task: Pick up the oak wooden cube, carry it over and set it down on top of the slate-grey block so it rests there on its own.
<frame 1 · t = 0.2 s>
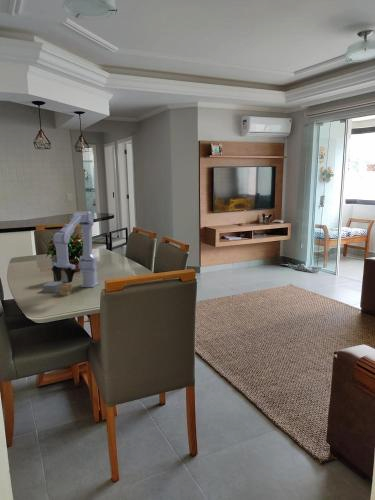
hand: (64, 281, 187), 10 cm above the table, tool pointing down, fingers open, 7 cm apart
slate block: (53, 290, 205), on the table
oak cube: (65, 294, 198), on the table
coffee box: (61, 281, 222), on the table
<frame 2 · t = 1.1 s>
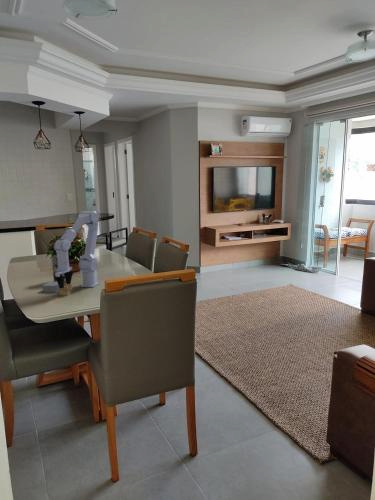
hand: (65, 286, 197), 4 cm above the table, tool pointing down, fingers open, 7 cm apart
nothing on the table moved.
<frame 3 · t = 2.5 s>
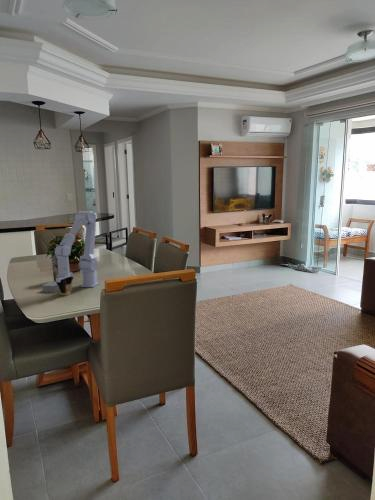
hand: (65, 291, 197), 1 cm above the table, tool pointing down, fingers closed on oak cube, 5 cm apart
oak cube: (65, 293, 198), on the table, touching gripper
everything else where it was.
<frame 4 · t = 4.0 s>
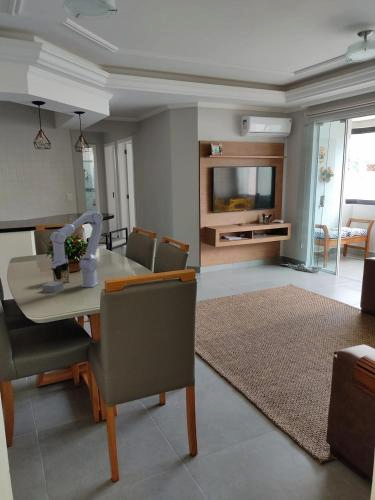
hand: (61, 277, 198), 9 cm above the table, tool pointing down, fingers closed on oak cube, 5 cm apart
oak cube: (61, 280, 198), point 7 cm above the table, touching gripper
everything else where it was.
when the fingers open (7 cm above the table, at t = 5.8 s): oak cube drops 2 cm, point 4 cm above the table.
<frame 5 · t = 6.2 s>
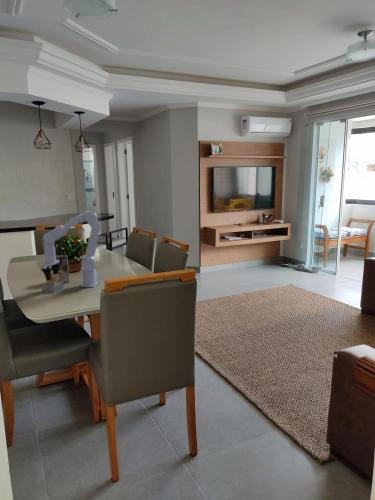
hand: (52, 278, 204), 7 cm above the table, tool pointing down, fingers open, 7 cm apart
oak cube: (52, 283, 205), point 4 cm above the table
everything else where it was.
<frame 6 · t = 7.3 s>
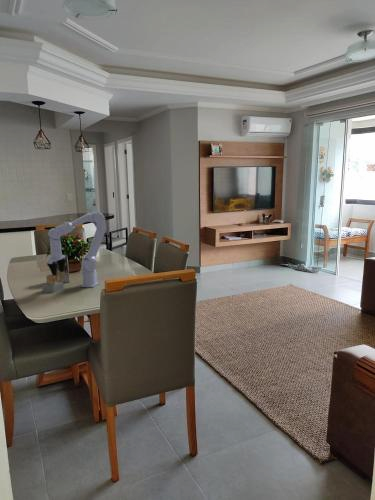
hand: (58, 273, 203), 10 cm above the table, tool pointing down, fingers open, 7 cm apart
slate block: (53, 290, 205), on the table, touching oak cube
oak cube: (53, 283, 205), point 4 cm above the table, touching slate block
everything else where it was.
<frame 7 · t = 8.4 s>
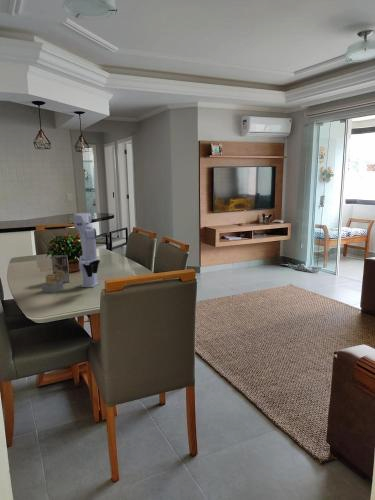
hand: (92, 274, 198), 10 cm above the table, tool pointing down, fingers open, 7 cm apart
nothing on the table moved.
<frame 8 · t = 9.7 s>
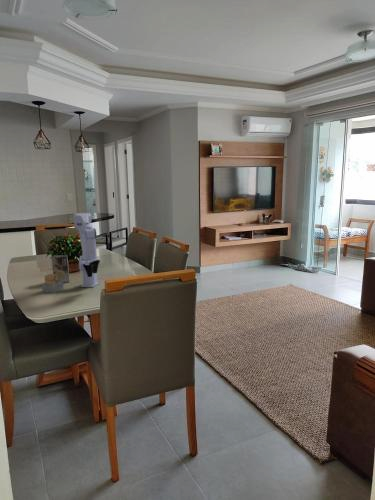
hand: (92, 274, 198), 10 cm above the table, tool pointing down, fingers open, 7 cm apart
slate block: (53, 290, 205), on the table
oak cube: (51, 283, 204), point 4 cm above the table
everything else where it was.
at the end: oak cube 0.5 cm off-centre on the slate block, point 4.0 cm above the slate block's base; oak cube tilted 0°; the gripper is holding nothing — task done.
